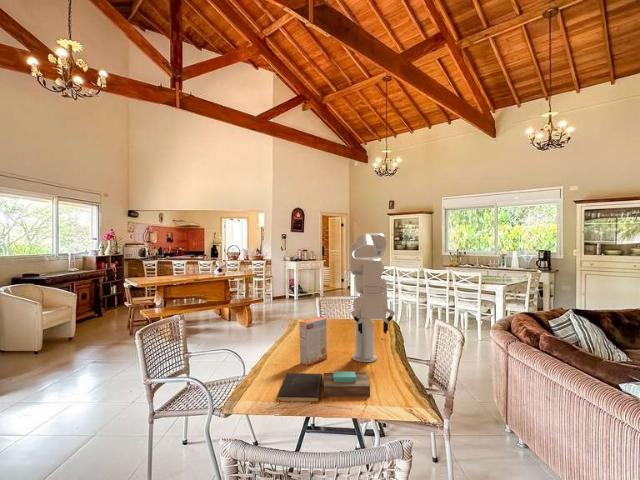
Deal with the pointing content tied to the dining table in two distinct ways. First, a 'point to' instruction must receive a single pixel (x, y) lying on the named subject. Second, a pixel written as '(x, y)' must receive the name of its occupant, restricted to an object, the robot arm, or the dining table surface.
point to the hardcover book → (301, 387)
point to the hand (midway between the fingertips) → (372, 332)
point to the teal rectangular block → (344, 376)
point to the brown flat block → (346, 386)
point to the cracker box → (313, 340)
